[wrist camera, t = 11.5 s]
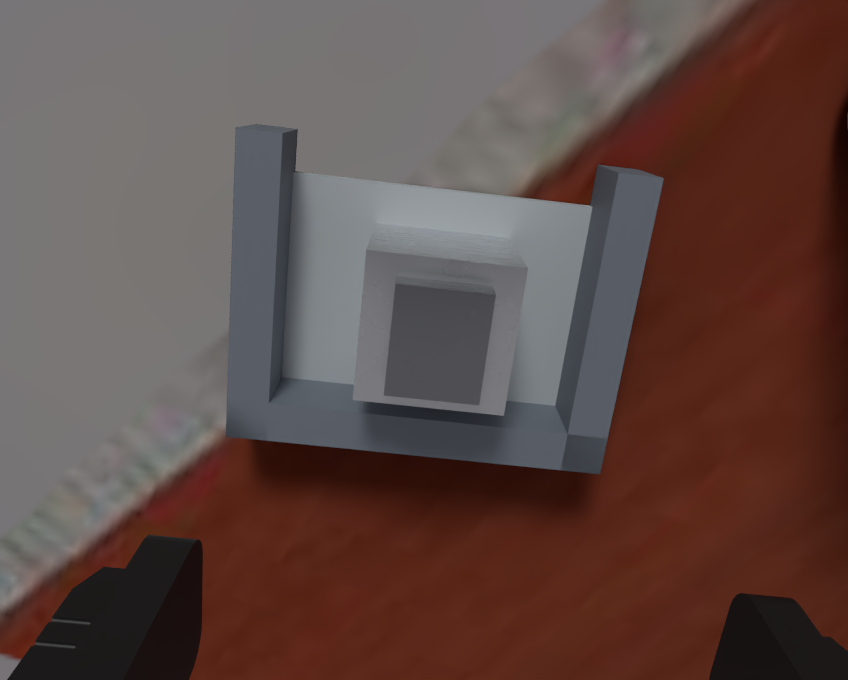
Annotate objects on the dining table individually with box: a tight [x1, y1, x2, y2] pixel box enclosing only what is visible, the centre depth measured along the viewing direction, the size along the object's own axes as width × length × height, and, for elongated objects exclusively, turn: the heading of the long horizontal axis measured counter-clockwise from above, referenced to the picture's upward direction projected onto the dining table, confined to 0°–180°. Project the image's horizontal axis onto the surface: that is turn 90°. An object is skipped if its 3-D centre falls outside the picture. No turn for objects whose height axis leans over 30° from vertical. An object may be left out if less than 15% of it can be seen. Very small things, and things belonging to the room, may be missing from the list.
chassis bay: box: [226, 124, 664, 474], centre depth 27 cm, size 14×11×3 cm
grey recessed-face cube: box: [353, 223, 528, 416], centre depth 25 cm, size 5×5×6 cm
